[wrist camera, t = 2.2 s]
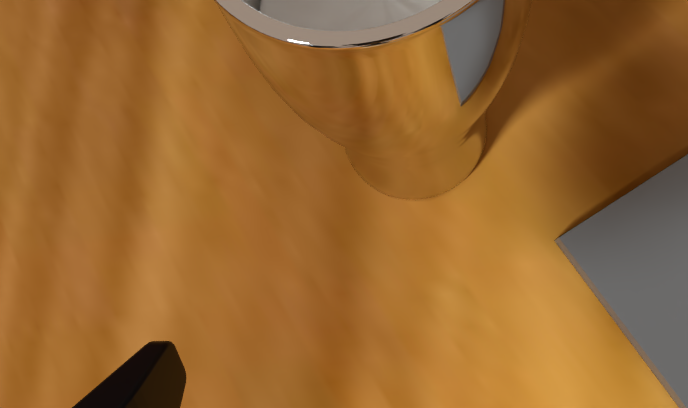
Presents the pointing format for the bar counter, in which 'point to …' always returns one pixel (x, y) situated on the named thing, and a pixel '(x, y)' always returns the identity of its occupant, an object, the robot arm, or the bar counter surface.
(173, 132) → the bar counter surface
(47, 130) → the bar counter surface
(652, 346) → the slate board
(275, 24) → the beer glass
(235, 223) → the bar counter surface
